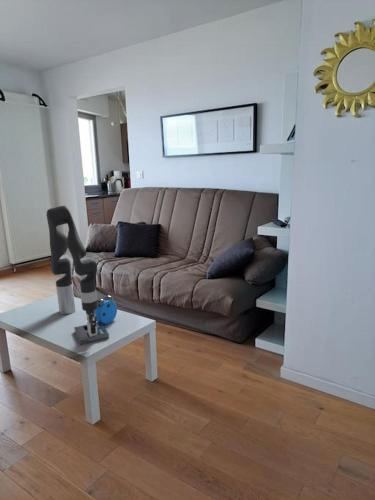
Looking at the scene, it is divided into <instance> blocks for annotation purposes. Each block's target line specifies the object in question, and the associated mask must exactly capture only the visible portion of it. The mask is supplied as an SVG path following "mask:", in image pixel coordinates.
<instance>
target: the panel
mask: <svg viewBox="0 0 375 500" xmlns="http://www.w3.org/2000/svg"><path fill="white" fill-rule="evenodd" d="M96 323H97V332H98V335H96V336H92V337H88V328H87V324H83V325H79V326H75V327H74V334H75V336H76V338H77V340H78V342H79V345H80V346H83V345H88V344H91V343H95V342H96V343H97V342H100V341H104V340H107V339H110V334H109V332H108V330H107V328H106V327H105V325H104V324H103V323H101V322H97V321H96Z"/></svg>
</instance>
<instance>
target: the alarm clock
mask: <svg viewBox="0 0 375 500" xmlns="http://www.w3.org/2000/svg"><path fill="white" fill-rule="evenodd" d="M97 302H98V308H97V309H95V310H94V312H95V314H96V316H95V317H96V322H101V323H102V324H103V325H108V324H111V323H112V322H113V321H114V320H115V318H116V317H117V313H118V306H117V304H116V302H115V301H114V297H113V296H111V295H105V296H104V298H97Z"/></svg>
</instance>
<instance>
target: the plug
mask: <svg viewBox="0 0 375 500" xmlns="http://www.w3.org/2000/svg"><path fill="white" fill-rule="evenodd" d="M86 325H87V328H88V337H92V336H96V335H98V332H97V326H96V327H95V328H96V333H95V334H91V327H90V323H89V322H88V321H87V322H86ZM96 325H97V323H96Z"/></svg>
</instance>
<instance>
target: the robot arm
mask: <svg viewBox="0 0 375 500" xmlns="http://www.w3.org/2000/svg"><path fill="white" fill-rule="evenodd" d="M46 220H47V225H48V231H49V246H50V248H49V249H50V256H51V257H50V268H51V273H52V274H53V275H54V276H57V275H58V276H59V275H63V276H62V277H61V278H58V279H57V280H56V281H55V286H56V295H57V296H56V297H57V303H58V310H59V311H58V312H59V314H61V315H70V314H72V313H74V312H75V311H76V304H75V303H76V302H75V294H74V289H73V287H74V286H73V280H72V279H73V278H72V265H71V260H70V259H69V258H67V257H65V258H62V257H63V255H65V254H66V252H67V251H69V253H70V255H71V256H72V257H71V258H72V262H73V269H74V271H75V273H76V275H78V276H79V277H83V276H85V277H84V278H83V279H81V280H80V282H79V286H80V288H79V289H80V300H81V302H80V303H81V309H82V310H83V311H84V312H85V314H86V315H85V316H86V320H87V322H89V323H90V327H91V334H95V333H96V328H95V327H96V326H97V325H96V322H97V321H96V317H95V316H96V314H95V312H94V310H95V309H97V308H98V302H97V300H98V295H97V288H96V277H97V273H98V264H97V262H96V260H95V259H94V258H88V259H84V258H85V257H86V255H87V250H86V248H85V246H84V244H83V242H82V240H81V239H80V235H79V232H78V230H77V227H76V223H75V221H74V219H73V215H72V213H71V211H70V209H69V208H68V206H66V205H59V206H56V207H51V208H49V209H47V210H46ZM66 224H67V227H68V232H67V235H66V234H65V233H63V232H62V231H61V230H60V229H58V227H59V226H63V225H66ZM81 259H83V260H81Z"/></svg>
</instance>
